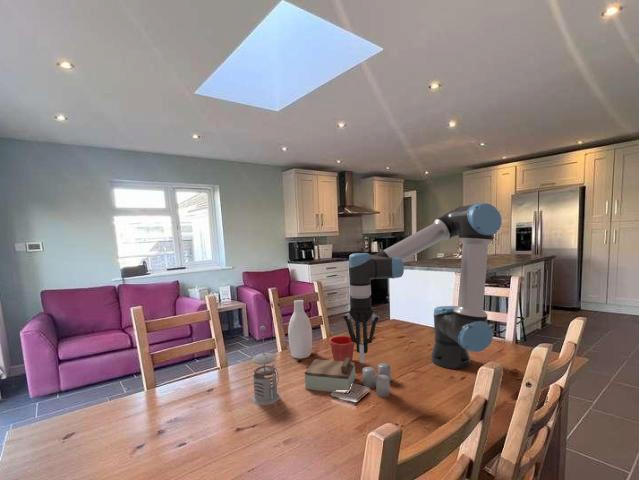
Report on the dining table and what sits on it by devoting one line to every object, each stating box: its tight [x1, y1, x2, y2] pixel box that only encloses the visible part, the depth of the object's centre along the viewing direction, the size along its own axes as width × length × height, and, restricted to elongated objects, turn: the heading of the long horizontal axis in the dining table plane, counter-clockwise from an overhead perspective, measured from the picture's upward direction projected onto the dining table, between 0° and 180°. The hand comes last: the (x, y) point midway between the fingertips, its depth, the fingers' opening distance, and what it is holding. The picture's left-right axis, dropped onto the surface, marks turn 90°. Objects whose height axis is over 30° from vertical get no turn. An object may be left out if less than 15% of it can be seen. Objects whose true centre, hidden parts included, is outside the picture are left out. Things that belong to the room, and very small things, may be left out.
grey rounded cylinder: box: [375, 374, 391, 398], centre depth 108 cm, size 5×5×6 cm
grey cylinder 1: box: [361, 366, 376, 389], centre depth 115 cm, size 5×5×6 cm
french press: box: [251, 325, 281, 406], centre depth 108 cm, size 10×12×25 cm
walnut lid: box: [304, 357, 356, 378], centre depth 117 cm, size 16×12×3 cm
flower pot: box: [329, 335, 356, 362], centre depth 136 cm, size 11×11×10 cm
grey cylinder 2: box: [377, 362, 392, 383], centre depth 118 cm, size 5×5×6 cm
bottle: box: [287, 299, 313, 360], centre depth 146 cm, size 11×11×25 cm
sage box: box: [304, 364, 356, 393], centre depth 117 cm, size 16×12×5 cm
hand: (362, 361), depth 113 cm, fingers closed
